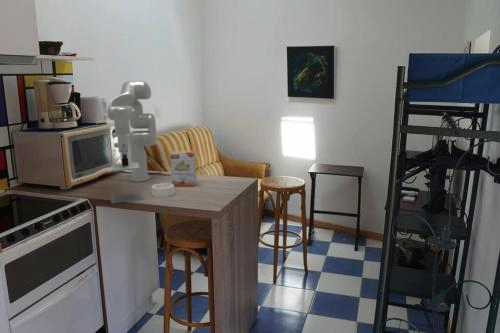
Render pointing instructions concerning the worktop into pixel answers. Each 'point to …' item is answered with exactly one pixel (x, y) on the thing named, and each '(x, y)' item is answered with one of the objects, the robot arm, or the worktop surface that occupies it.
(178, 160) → the cracker box
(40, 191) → the worktop surface
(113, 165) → the cover board
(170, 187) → the bowl
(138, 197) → the mat
